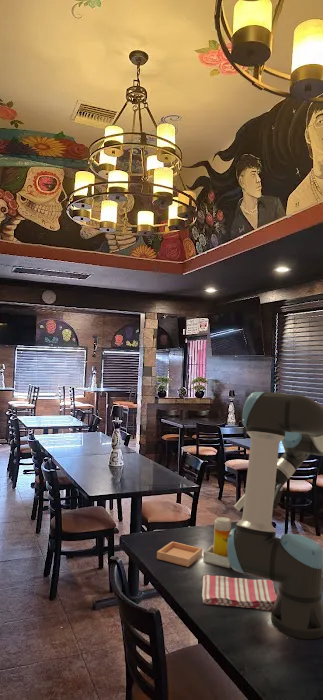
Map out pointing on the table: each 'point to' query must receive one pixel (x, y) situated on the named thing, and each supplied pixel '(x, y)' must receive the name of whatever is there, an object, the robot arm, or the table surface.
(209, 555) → the frame
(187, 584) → the table surface
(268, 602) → the dish towel
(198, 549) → the serving tray
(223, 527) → the beer can
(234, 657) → the table surface
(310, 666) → the table surface
